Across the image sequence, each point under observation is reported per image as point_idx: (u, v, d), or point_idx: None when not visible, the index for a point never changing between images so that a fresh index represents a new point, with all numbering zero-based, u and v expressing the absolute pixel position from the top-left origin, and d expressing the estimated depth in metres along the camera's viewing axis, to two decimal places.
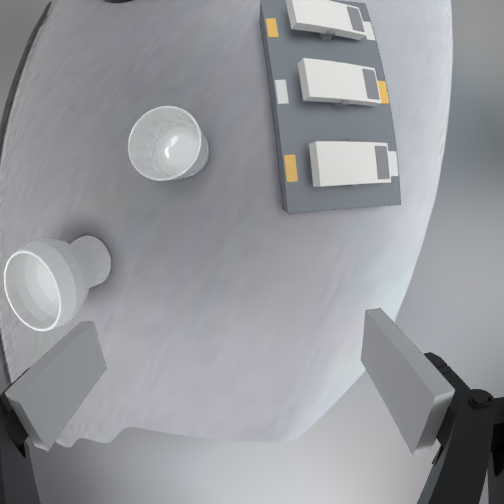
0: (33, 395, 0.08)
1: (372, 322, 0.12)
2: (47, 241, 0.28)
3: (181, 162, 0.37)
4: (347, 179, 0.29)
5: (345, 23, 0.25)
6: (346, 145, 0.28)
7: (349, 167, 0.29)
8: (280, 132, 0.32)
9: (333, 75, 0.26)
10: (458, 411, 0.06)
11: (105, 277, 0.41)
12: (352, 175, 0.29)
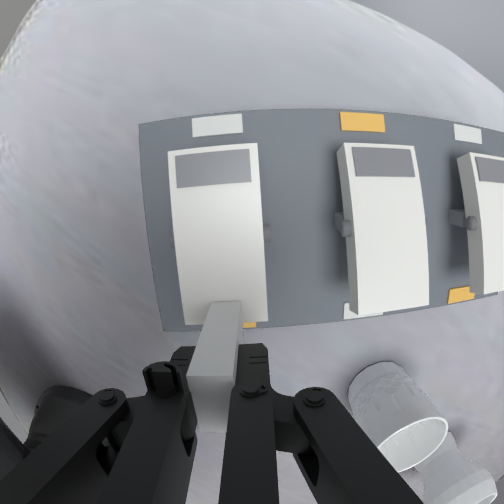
0: None
1: None
2: None
3: None
4: None
5: (237, 200, 0.14)
6: (486, 238, 0.15)
7: None
8: (419, 308, 0.20)
9: (386, 251, 0.15)
10: (230, 404, 0.08)
11: (452, 435, 0.31)
12: None
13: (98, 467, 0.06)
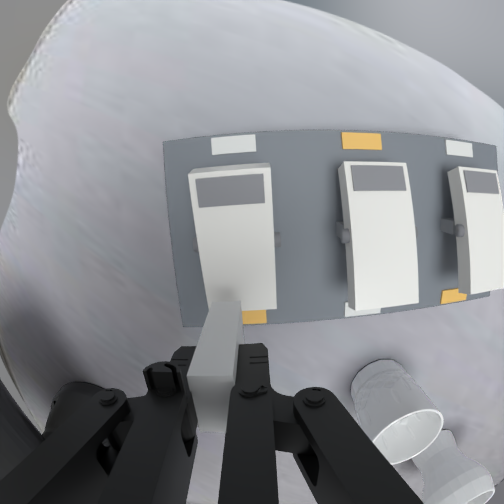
0: None
1: None
2: (434, 502, 0.22)
3: None
4: (503, 246, 0.17)
5: (252, 217, 0.17)
6: (473, 244, 0.17)
7: (493, 241, 0.17)
8: (414, 308, 0.22)
9: (380, 255, 0.17)
10: (230, 404, 0.08)
11: (451, 434, 0.32)
12: (499, 237, 0.17)
13: (98, 468, 0.06)
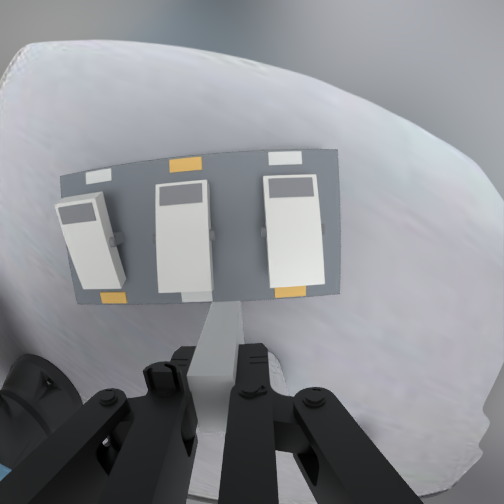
0: None
1: None
2: None
3: None
4: (316, 245, 0.24)
5: (91, 229, 0.23)
6: (272, 243, 0.24)
7: (301, 241, 0.24)
8: (247, 299, 0.29)
9: (177, 253, 0.24)
10: (229, 404, 0.08)
11: None
12: (311, 237, 0.24)
13: (98, 468, 0.06)
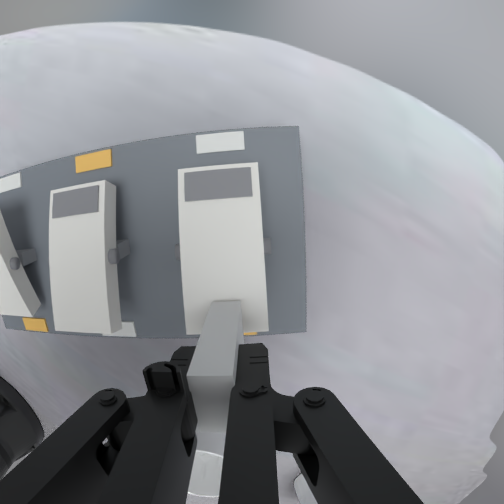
0: None
1: None
2: None
3: None
4: (255, 272, 0.16)
5: None
6: (188, 270, 0.16)
7: (231, 266, 0.16)
8: (179, 336, 0.21)
9: (70, 281, 0.16)
10: (230, 404, 0.08)
11: None
12: (247, 260, 0.16)
13: (98, 468, 0.06)
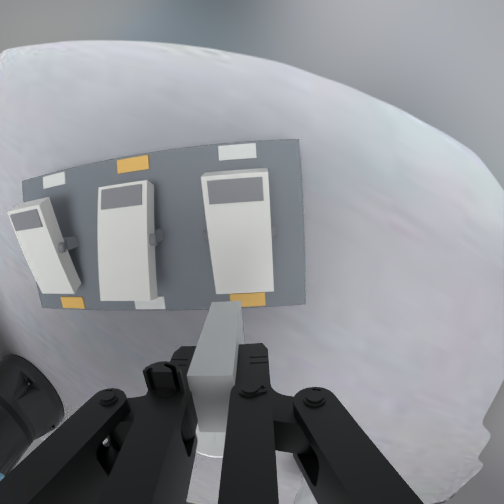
0: None
1: None
2: None
3: None
4: (265, 254, 0.22)
5: (40, 235, 0.21)
6: (216, 253, 0.22)
7: (247, 250, 0.22)
8: (201, 308, 0.27)
9: (116, 259, 0.21)
10: (230, 404, 0.08)
11: None
12: (259, 246, 0.21)
13: (98, 468, 0.06)
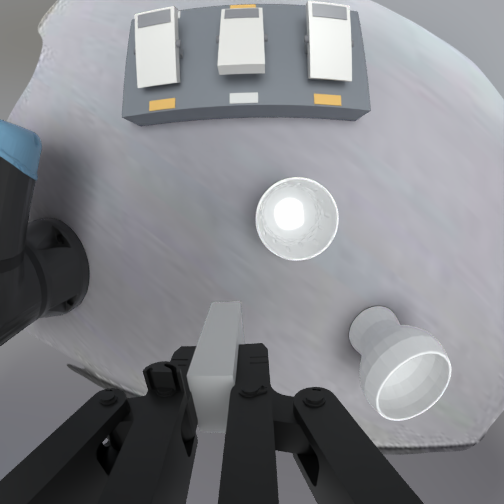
0: None
1: None
2: (369, 364, 0.29)
3: (301, 213, 0.36)
4: (346, 52, 0.25)
5: (164, 30, 0.24)
6: (313, 47, 0.25)
7: (335, 48, 0.25)
8: (289, 104, 0.29)
9: (236, 42, 0.24)
10: (229, 404, 0.08)
11: (394, 314, 0.39)
12: (343, 46, 0.24)
13: (98, 468, 0.06)
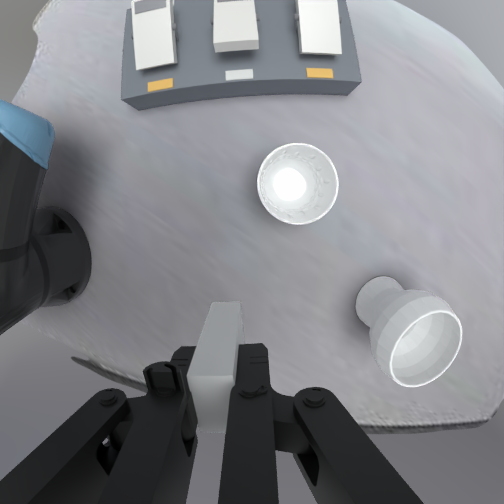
0: None
1: None
2: (379, 329, 0.29)
3: (300, 184, 0.36)
4: (335, 28, 0.25)
5: (160, 14, 0.24)
6: (303, 24, 0.25)
7: (324, 24, 0.25)
8: (283, 78, 0.29)
9: (230, 22, 0.24)
10: (230, 404, 0.08)
11: (398, 283, 0.40)
12: (331, 22, 0.25)
13: (98, 468, 0.06)
